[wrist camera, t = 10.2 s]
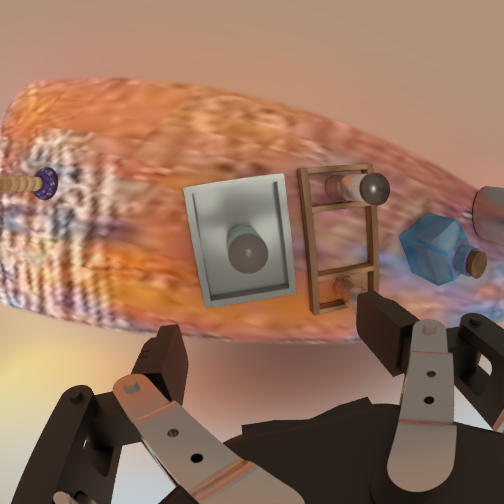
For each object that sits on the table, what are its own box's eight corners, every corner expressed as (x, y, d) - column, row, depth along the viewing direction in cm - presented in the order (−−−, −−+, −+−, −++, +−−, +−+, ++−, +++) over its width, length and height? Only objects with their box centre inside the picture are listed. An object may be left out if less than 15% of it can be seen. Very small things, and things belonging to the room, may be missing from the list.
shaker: (256, 222, 32) (265, 231, 25) (260, 253, 32) (271, 270, 25) (224, 227, 31) (224, 237, 24) (229, 258, 32) (231, 277, 25)
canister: (352, 273, 35) (391, 301, 26) (352, 294, 36) (389, 326, 26) (332, 277, 35) (366, 308, 25) (333, 298, 35) (365, 333, 26)
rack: (366, 164, 32) (372, 163, 30) (373, 296, 36) (378, 300, 35) (296, 169, 31) (300, 168, 30) (310, 310, 35) (313, 315, 34)
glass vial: (345, 174, 32) (388, 172, 23) (348, 197, 33) (391, 203, 23) (323, 175, 32) (361, 173, 22) (326, 200, 32) (364, 206, 23)
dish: (279, 173, 31) (283, 173, 29) (292, 286, 34) (296, 293, 32) (185, 187, 31) (183, 187, 28) (206, 300, 34) (205, 308, 32)
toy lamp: (28, 185, 28) (-62, 195, 12) (44, 156, 27) (-47, 150, 11) (48, 206, 29) (-45, 227, 13) (65, 176, 28) (-30, 179, 12)
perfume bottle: (398, 236, 35) (458, 258, 23) (427, 213, 34) (488, 227, 23) (412, 272, 36) (467, 302, 24) (439, 249, 36) (496, 270, 24)
